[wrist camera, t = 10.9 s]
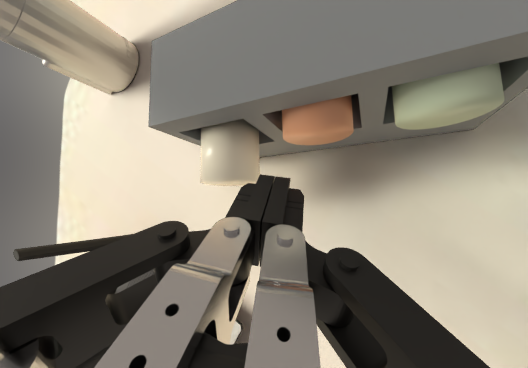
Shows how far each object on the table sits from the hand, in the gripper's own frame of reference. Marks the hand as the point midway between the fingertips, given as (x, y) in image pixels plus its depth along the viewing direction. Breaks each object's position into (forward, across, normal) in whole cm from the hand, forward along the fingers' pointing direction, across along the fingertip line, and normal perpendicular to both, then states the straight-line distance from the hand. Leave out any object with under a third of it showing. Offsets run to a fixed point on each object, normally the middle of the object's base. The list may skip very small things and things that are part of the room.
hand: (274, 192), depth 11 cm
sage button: (+9, +9, +4) cm, 14 cm away
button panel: (+16, +4, +1) cm, 17 cm away
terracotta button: (+11, +2, +2) cm, 11 cm away
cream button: (+10, -4, -3) cm, 11 cm away
